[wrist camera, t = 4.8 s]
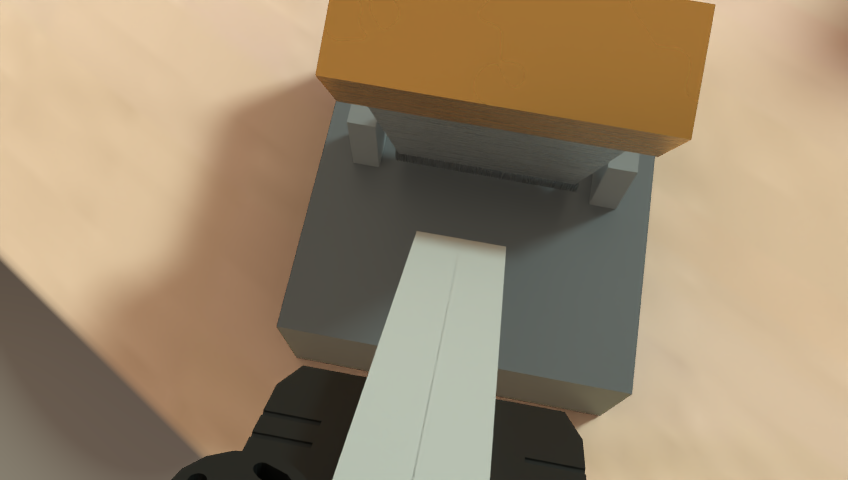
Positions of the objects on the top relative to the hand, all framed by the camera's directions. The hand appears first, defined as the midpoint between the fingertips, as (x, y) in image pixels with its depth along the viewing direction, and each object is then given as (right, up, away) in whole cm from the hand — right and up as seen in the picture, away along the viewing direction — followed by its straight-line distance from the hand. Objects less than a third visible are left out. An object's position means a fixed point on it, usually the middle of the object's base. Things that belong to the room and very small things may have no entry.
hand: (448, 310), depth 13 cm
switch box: (+1, +2, +14) cm, 15 cm away
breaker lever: (+2, +4, +9) cm, 10 cm away
